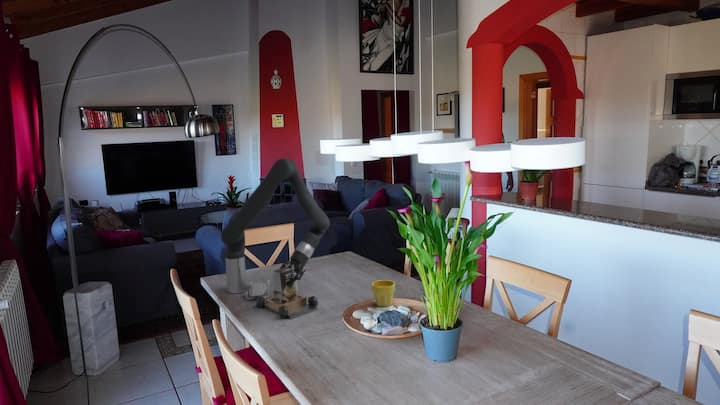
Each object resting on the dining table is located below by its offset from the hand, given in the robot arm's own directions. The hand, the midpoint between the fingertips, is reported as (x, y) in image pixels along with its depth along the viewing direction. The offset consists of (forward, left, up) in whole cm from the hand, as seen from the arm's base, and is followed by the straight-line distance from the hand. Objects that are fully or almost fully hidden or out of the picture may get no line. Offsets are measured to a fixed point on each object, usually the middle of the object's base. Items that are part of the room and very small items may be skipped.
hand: (282, 284), depth 221 cm
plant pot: (+30, +32, -11) cm, 45 cm away
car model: (-27, +4, -11) cm, 30 cm away
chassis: (0, +1, -11) cm, 11 cm away
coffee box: (0, +2, -10) cm, 10 cm away
